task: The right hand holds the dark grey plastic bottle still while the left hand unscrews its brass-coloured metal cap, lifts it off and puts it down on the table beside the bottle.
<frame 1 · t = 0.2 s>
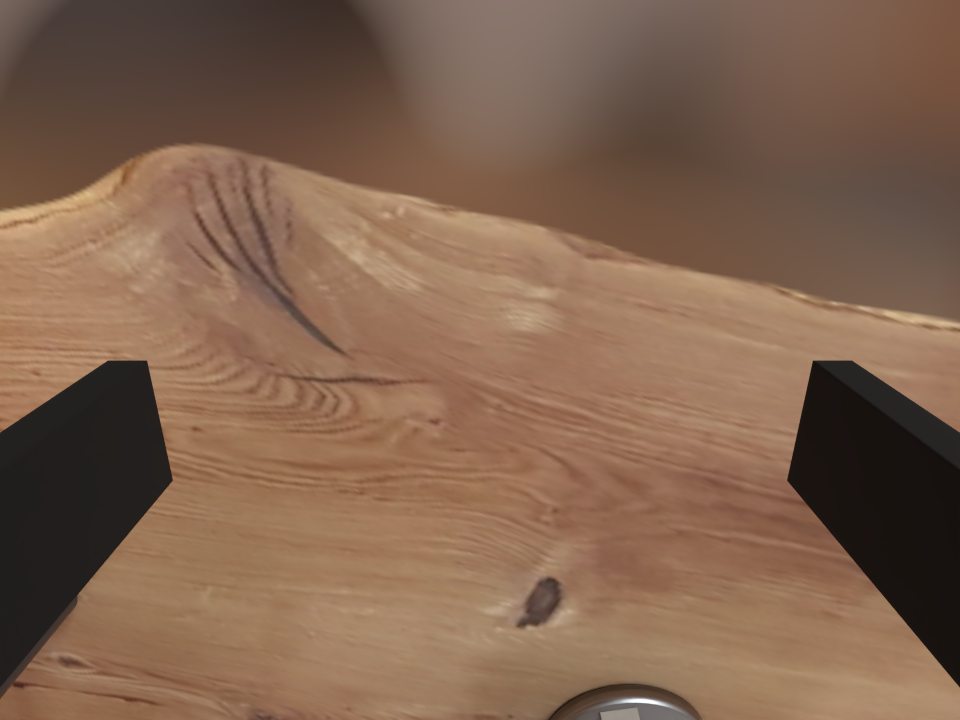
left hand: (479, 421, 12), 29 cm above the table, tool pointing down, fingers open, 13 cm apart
bottle: (51, 594, 51), on the table
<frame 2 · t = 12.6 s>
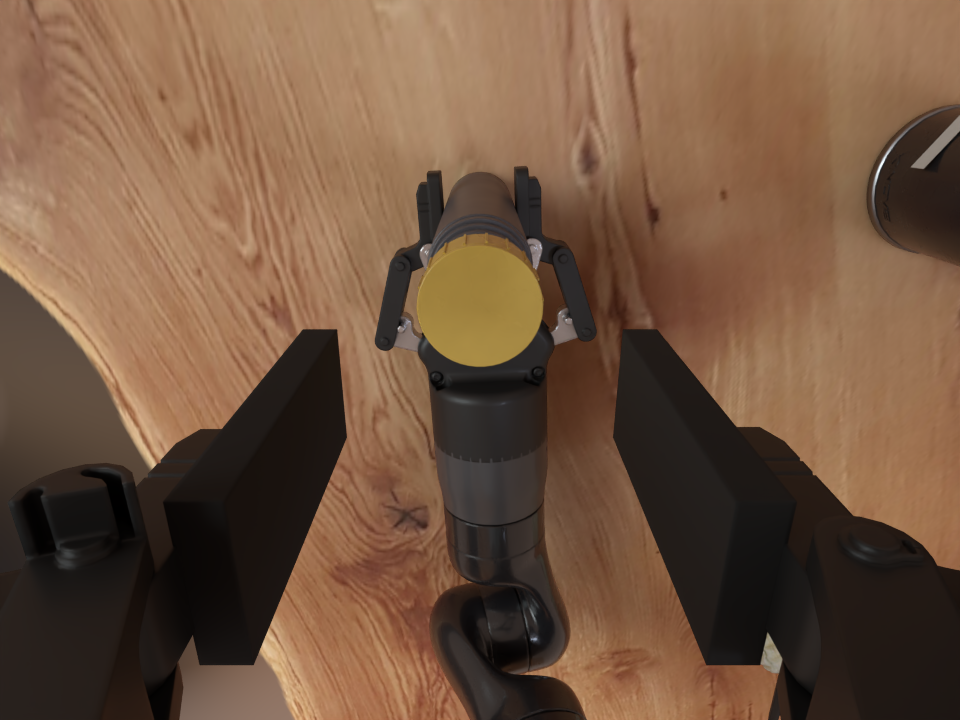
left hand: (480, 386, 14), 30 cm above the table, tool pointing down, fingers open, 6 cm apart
right hand: (477, 171, 35), fingers closed on bottle, 4 cm apart
bottle: (480, 204, 42), on the table, touching right hand
cap: (480, 305, 20), point 23 cm above the table, screwed on, not yet turned
seashell: (764, 588, 54), on the table
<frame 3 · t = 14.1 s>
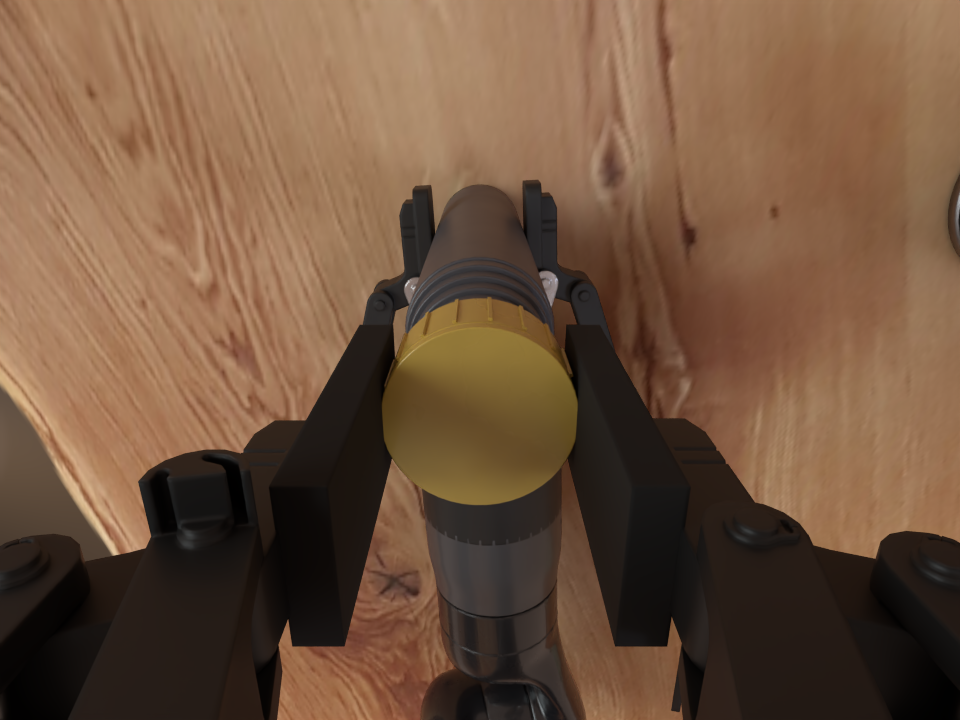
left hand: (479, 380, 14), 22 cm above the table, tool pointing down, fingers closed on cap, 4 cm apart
bottle: (479, 223, 35), on the table, touching right hand
cap: (479, 415, 13), point 23 cm above the table, screwed on, not yet turned, touching left hand
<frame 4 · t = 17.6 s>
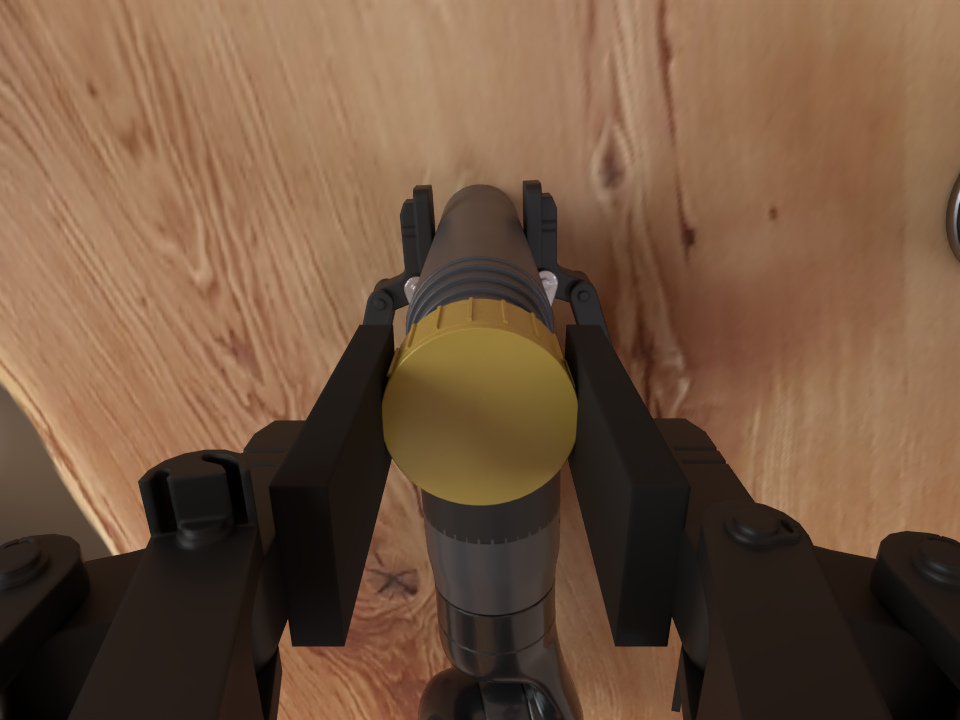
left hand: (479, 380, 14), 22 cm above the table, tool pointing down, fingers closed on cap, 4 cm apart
bottle: (479, 223, 35), on the table, touching right hand
cap: (480, 415, 13), point 24 cm above the table, turned 112° so far, risen 0.1 cm, still on its thread, touching left hand
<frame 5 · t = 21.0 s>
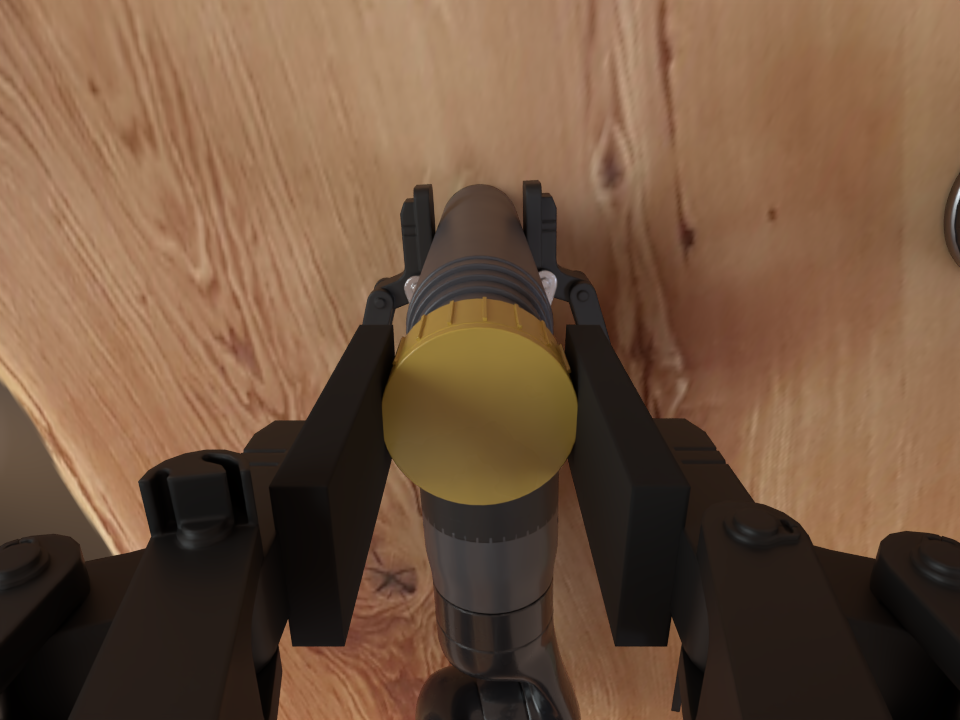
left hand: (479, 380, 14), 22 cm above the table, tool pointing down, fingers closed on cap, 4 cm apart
bottle: (479, 223, 35), on the table, touching right hand
cap: (479, 415, 13), point 24 cm above the table, turned 224° so far, risen 0.2 cm, still on its thread, touching left hand
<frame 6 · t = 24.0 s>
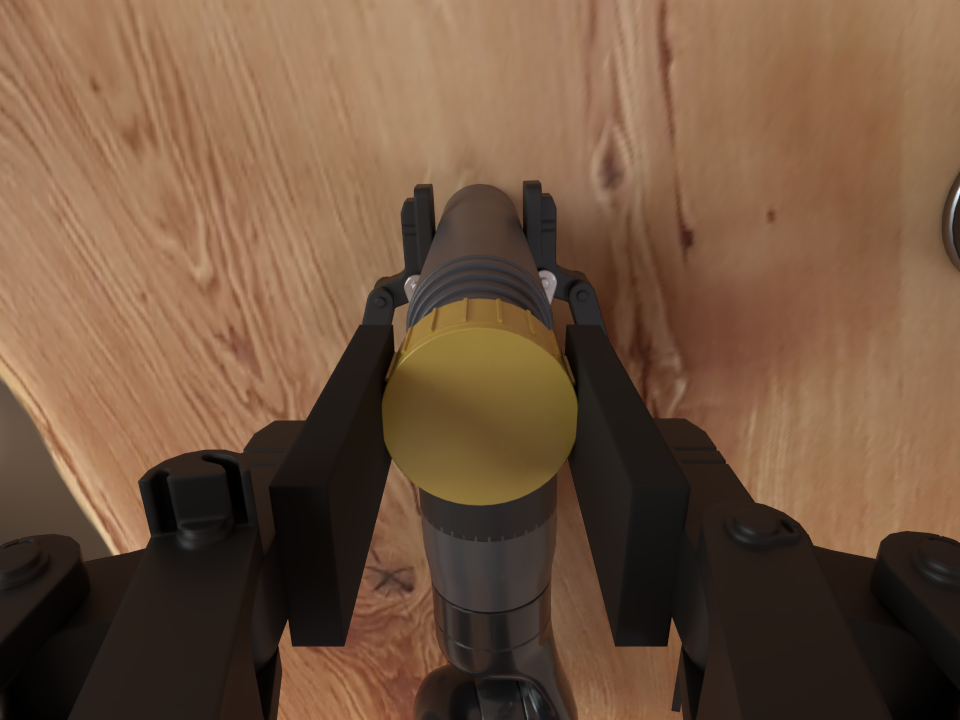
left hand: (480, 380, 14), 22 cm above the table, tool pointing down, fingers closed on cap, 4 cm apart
bottle: (479, 223, 35), on the table, touching right hand
cap: (479, 415, 13), point 24 cm above the table, turned 335° so far, risen 0.3 cm, still on its thread, touching left hand
when the left hand's fingers open (2 cm above the table, at t = 30.4 s): cap drops 2 cm, point 2 cm above the table.
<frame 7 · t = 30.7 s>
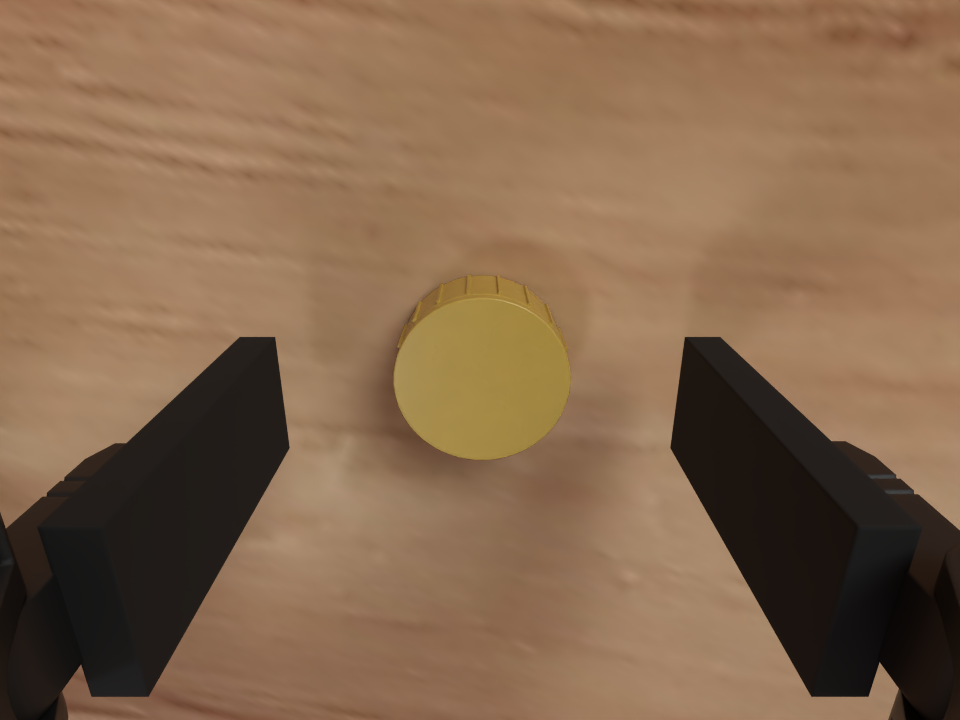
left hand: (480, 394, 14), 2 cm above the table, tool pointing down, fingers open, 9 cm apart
cap: (481, 378, 14), point 2 cm above the table, off its thread
when the right hand's fingers open (6 cm above the table, at t = 31.6 s): bottle stays where it is, on the table.
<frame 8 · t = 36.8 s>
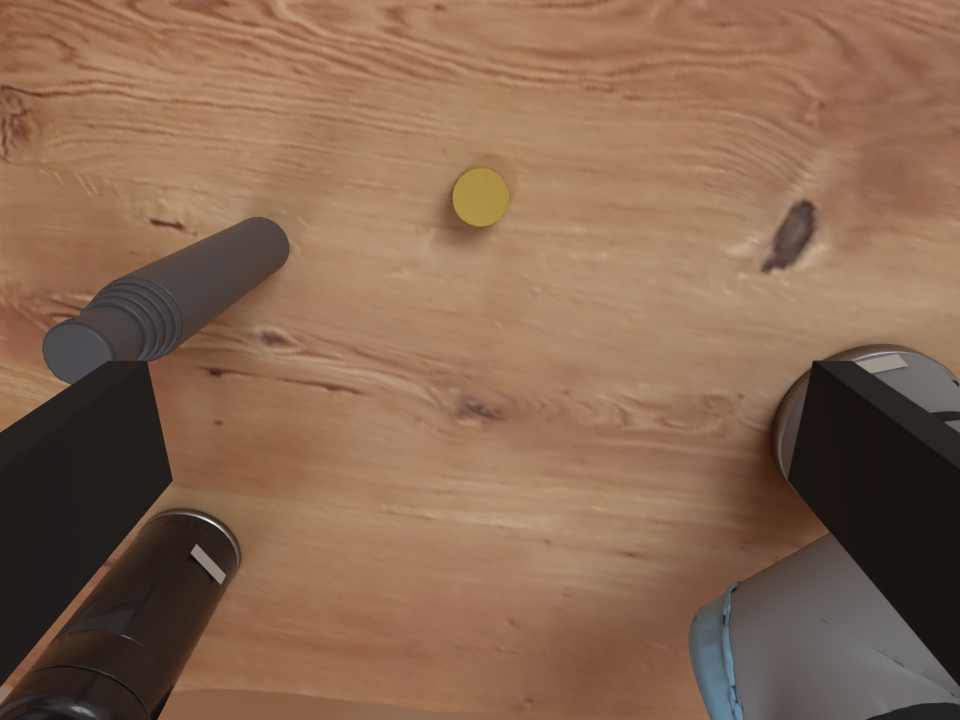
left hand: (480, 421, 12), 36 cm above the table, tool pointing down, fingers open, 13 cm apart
bottle: (261, 245, 47), on the table
cap: (480, 197, 44), point 2 cm above the table, off its thread
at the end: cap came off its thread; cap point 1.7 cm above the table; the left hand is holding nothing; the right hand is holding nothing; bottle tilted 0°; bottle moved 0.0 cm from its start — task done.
